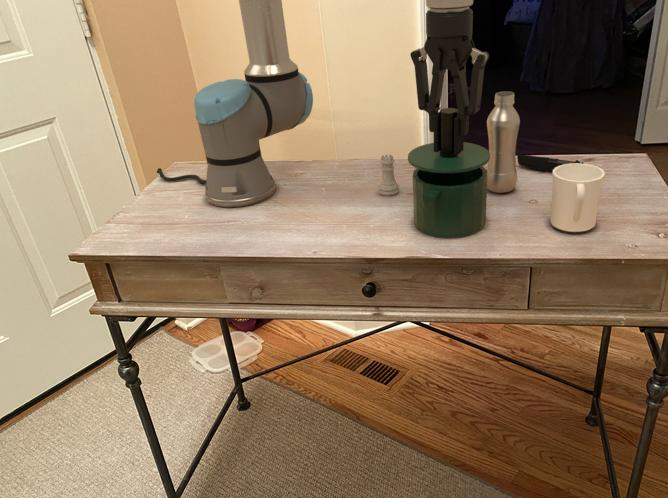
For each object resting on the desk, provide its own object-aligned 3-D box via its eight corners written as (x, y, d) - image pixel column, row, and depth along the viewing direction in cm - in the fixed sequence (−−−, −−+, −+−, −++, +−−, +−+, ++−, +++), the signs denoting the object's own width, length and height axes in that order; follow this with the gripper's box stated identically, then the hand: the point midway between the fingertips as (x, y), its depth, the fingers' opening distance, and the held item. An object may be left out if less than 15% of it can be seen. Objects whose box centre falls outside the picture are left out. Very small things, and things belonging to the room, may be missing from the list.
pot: (396, 237, 114) (393, 187, 108) (437, 198, 127) (436, 152, 122) (464, 250, 108) (465, 197, 102) (500, 208, 122) (502, 159, 116)
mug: (546, 214, 118) (551, 163, 112) (594, 215, 116) (601, 163, 111) (549, 240, 109) (554, 186, 103) (601, 241, 107) (609, 186, 102)
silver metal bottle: (523, 190, 128) (529, 93, 117) (498, 199, 125) (502, 100, 114) (502, 181, 133) (506, 87, 122) (478, 189, 130) (480, 94, 119)
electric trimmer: (520, 164, 142) (520, 150, 140) (587, 172, 134) (589, 158, 132) (514, 169, 139) (514, 156, 137) (582, 178, 132) (583, 164, 130)
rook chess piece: (379, 188, 134) (377, 153, 130) (400, 188, 133) (398, 152, 129) (377, 196, 130) (375, 160, 126) (398, 196, 130) (396, 160, 125)
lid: (394, 170, 109) (391, 118, 104) (428, 143, 120) (427, 96, 115) (471, 181, 103) (473, 127, 98) (500, 152, 113) (503, 102, 108)
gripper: (393, 11, 98) (399, 152, 111) (489, 13, 91) (484, 163, 104) (413, 4, 103) (416, 139, 116) (506, 5, 97) (498, 149, 109)
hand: (448, 150), depth 110 cm, fingers closed on lid, 3 cm apart
